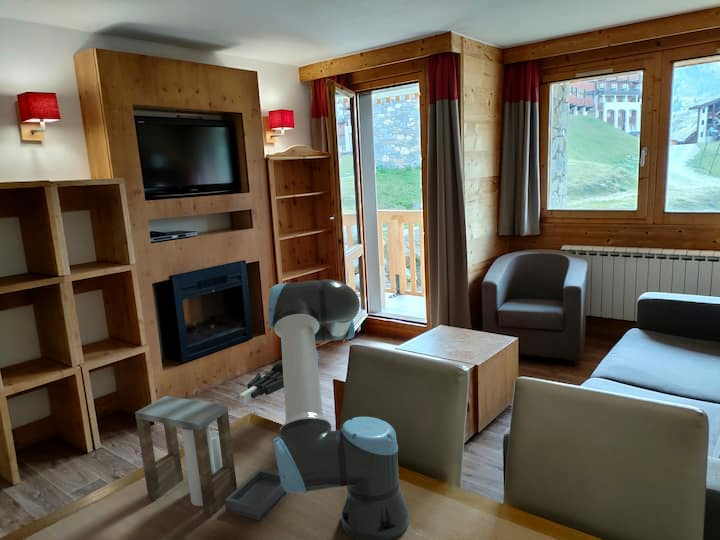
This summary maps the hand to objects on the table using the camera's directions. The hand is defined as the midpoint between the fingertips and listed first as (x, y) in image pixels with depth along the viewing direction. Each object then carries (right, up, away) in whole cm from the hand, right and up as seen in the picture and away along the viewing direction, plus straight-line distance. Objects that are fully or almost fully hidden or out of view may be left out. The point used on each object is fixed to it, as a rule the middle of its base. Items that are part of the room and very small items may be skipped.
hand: (241, 399), depth 150 cm
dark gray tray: (+9, -19, -20) cm, 30 cm away
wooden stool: (-8, -20, -18) cm, 28 cm away
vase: (-5, -20, -16) cm, 26 cm away
